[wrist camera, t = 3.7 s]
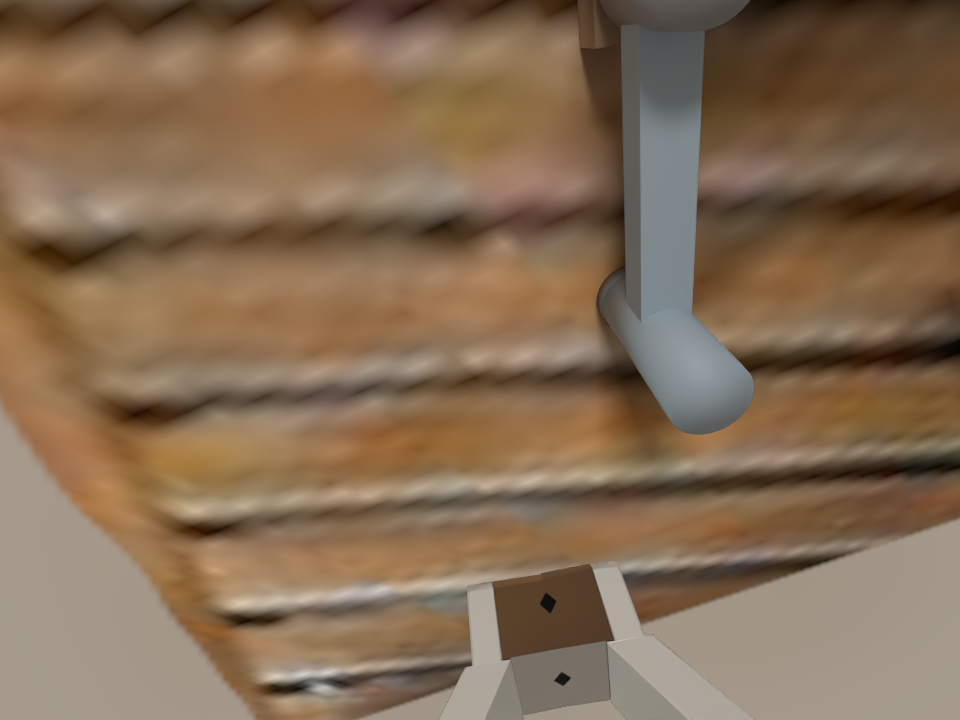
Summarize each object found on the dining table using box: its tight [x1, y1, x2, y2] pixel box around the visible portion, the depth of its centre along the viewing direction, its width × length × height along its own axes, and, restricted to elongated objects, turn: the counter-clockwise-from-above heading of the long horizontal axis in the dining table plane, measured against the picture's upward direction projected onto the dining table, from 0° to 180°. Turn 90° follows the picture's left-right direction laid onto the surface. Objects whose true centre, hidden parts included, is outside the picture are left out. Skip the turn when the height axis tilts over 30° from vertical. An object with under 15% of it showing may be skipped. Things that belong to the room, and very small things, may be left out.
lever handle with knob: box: [597, 0, 754, 434], centre depth 15 cm, size 12×3×7 cm, turn 9°
